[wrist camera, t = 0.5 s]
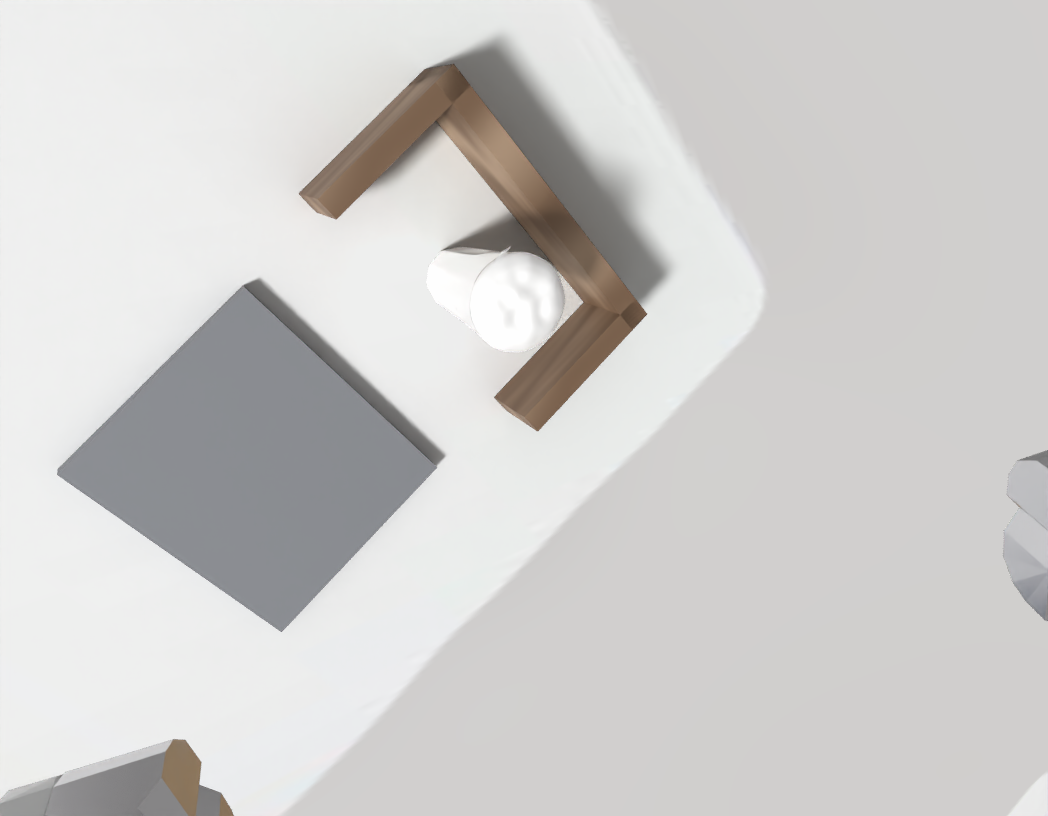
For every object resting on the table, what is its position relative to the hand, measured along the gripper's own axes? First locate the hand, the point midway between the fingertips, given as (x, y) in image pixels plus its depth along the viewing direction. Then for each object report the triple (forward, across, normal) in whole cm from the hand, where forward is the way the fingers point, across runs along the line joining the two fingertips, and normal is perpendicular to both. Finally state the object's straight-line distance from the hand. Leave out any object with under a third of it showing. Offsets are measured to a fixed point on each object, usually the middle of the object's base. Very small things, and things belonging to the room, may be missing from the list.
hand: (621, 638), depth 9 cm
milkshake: (+39, -1, +11) cm, 40 cm away
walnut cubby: (+39, -2, +11) cm, 40 cm away
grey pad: (+34, +11, +17) cm, 40 cm away
